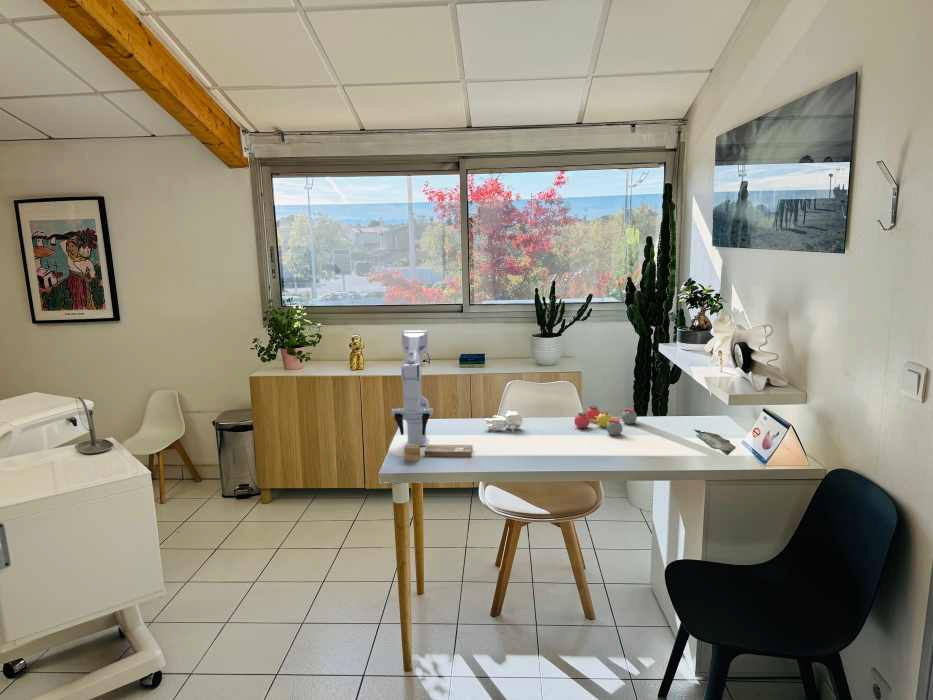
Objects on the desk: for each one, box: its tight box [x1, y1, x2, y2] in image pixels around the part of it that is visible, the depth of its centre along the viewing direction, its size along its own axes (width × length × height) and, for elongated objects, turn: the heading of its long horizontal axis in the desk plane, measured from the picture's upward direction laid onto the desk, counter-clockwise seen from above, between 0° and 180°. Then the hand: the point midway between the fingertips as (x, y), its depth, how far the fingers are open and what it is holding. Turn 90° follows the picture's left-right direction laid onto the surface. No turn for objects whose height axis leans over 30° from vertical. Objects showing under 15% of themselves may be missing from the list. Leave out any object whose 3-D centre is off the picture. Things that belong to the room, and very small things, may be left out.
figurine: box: [485, 409, 524, 433], centre depth 269 cm, size 11×7×15 cm
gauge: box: [403, 443, 421, 462], centre depth 236 cm, size 7×5×5 cm
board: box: [424, 444, 473, 457], centre depth 241 cm, size 8×17×2 cm, turn 86°
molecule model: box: [574, 405, 638, 437], centre depth 271 cm, size 25×21×6 cm
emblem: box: [692, 428, 736, 456], centre depth 249 cm, size 32×10×1 cm, turn 2°
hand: (412, 434), depth 232 cm, fingers open, 7 cm apart
